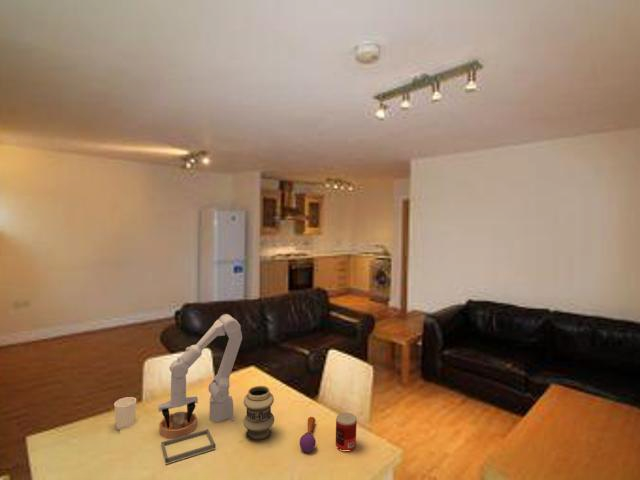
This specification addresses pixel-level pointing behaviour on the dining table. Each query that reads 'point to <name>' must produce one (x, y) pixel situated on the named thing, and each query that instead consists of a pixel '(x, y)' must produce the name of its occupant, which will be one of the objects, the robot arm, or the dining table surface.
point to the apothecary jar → (258, 413)
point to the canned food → (346, 431)
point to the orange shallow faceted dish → (179, 432)
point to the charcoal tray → (185, 454)
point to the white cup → (125, 412)
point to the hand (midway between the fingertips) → (178, 423)
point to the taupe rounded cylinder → (178, 420)
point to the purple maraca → (308, 437)
